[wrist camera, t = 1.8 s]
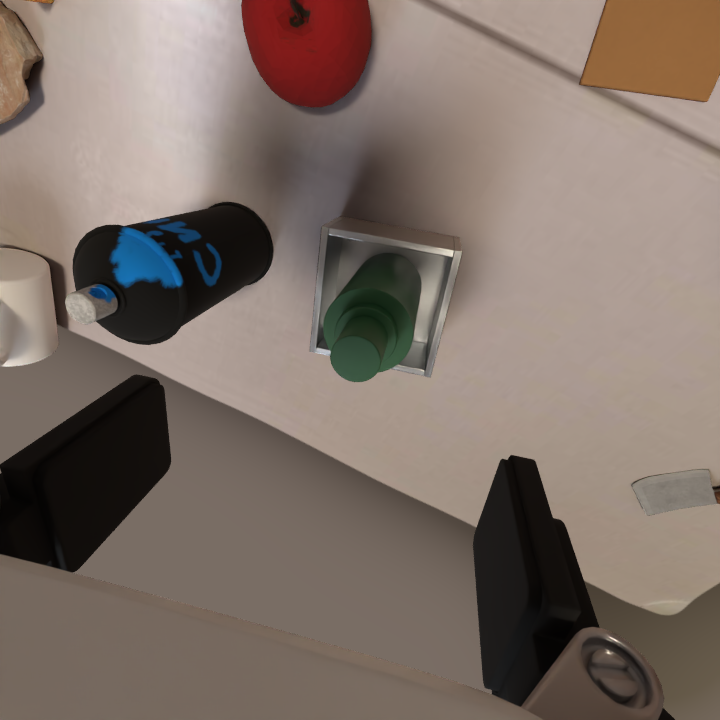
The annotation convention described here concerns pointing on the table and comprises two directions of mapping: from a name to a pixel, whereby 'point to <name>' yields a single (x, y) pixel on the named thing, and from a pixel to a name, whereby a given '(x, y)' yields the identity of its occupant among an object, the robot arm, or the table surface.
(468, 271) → the table surface
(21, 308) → the mug
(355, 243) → the bin
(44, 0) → the pyrite
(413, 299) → the bottle
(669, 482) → the cleaver
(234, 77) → the table surface
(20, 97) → the stone
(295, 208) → the table surface
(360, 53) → the apple
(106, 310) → the aerosol can
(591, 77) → the coaster
